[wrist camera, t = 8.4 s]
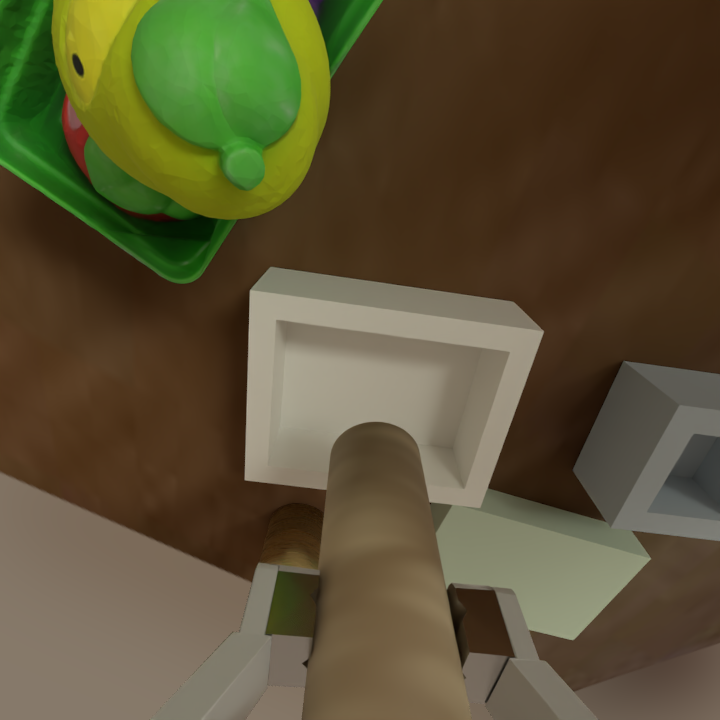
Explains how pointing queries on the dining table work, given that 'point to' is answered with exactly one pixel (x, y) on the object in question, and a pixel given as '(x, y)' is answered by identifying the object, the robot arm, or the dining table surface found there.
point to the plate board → (538, 558)
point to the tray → (381, 377)
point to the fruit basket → (169, 112)
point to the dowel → (381, 591)
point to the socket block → (657, 452)
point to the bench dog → (294, 537)
